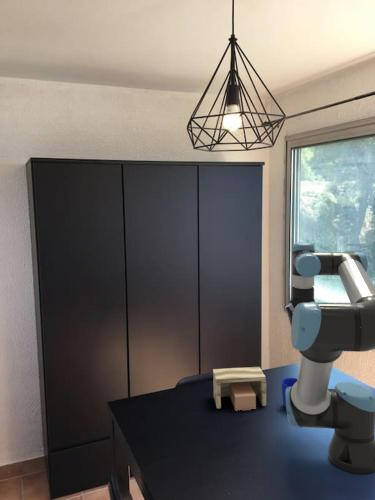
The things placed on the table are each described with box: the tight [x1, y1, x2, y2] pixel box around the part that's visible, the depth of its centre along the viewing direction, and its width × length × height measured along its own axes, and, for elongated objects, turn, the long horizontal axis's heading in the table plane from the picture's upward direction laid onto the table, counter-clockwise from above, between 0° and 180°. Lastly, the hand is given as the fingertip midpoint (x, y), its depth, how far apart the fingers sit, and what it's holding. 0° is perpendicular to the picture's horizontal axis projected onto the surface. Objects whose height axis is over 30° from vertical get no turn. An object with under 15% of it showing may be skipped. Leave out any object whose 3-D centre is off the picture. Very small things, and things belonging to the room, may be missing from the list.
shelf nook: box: [212, 366, 267, 409], centre depth 176 cm, size 11×20×12 cm, turn 94°
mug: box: [280, 377, 298, 408], centre depth 169 cm, size 8×12×10 cm
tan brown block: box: [229, 382, 257, 412], centre depth 174 cm, size 12×8×6 cm, turn 4°
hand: (302, 350), depth 157 cm, fingers closed
